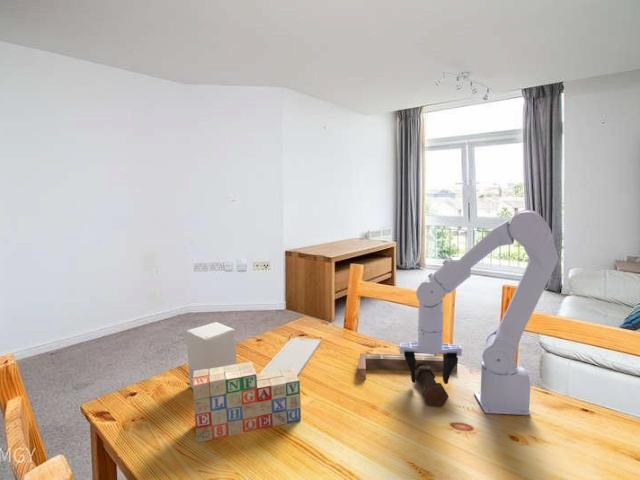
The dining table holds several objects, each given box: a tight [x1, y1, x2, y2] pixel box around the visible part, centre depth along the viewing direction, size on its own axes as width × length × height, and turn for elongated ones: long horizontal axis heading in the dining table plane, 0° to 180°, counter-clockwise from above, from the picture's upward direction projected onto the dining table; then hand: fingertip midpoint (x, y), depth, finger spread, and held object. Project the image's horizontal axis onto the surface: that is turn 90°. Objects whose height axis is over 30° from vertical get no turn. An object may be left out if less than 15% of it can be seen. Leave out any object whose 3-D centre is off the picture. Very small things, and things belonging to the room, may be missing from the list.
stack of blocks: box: [192, 361, 302, 443], centre depth 77 cm, size 21×6×12 cm, turn 107°
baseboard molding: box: [260, 334, 322, 378], centre depth 106 cm, size 31×3×12 cm
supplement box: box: [185, 321, 238, 389], centre depth 92 cm, size 9×9×15 cm
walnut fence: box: [357, 353, 458, 380], centre depth 98 cm, size 26×9×3 cm, turn 84°
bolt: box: [415, 363, 449, 408], centre depth 90 cm, size 6×5×15 cm
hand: (429, 381), depth 90 cm, fingers open, 7 cm apart
